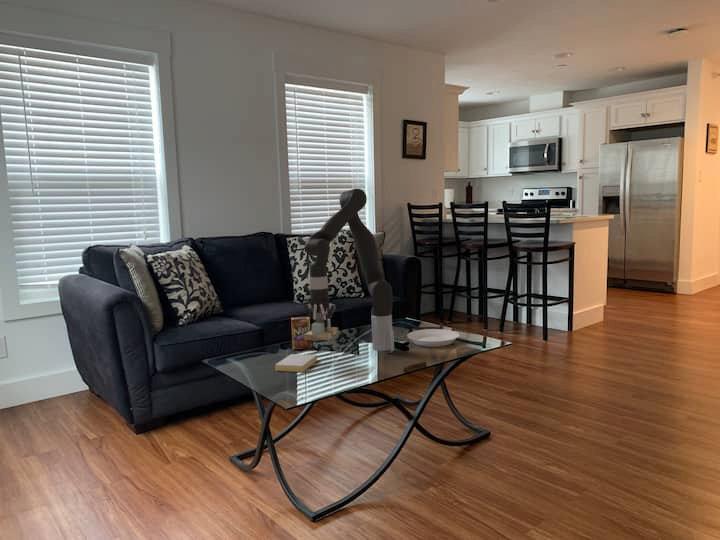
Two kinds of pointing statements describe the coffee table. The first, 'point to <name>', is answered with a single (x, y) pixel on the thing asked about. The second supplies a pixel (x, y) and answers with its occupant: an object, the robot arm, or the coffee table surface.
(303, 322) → the candy box
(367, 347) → the coffee table surface
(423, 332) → the white plate
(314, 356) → the block
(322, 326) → the block
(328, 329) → the block
